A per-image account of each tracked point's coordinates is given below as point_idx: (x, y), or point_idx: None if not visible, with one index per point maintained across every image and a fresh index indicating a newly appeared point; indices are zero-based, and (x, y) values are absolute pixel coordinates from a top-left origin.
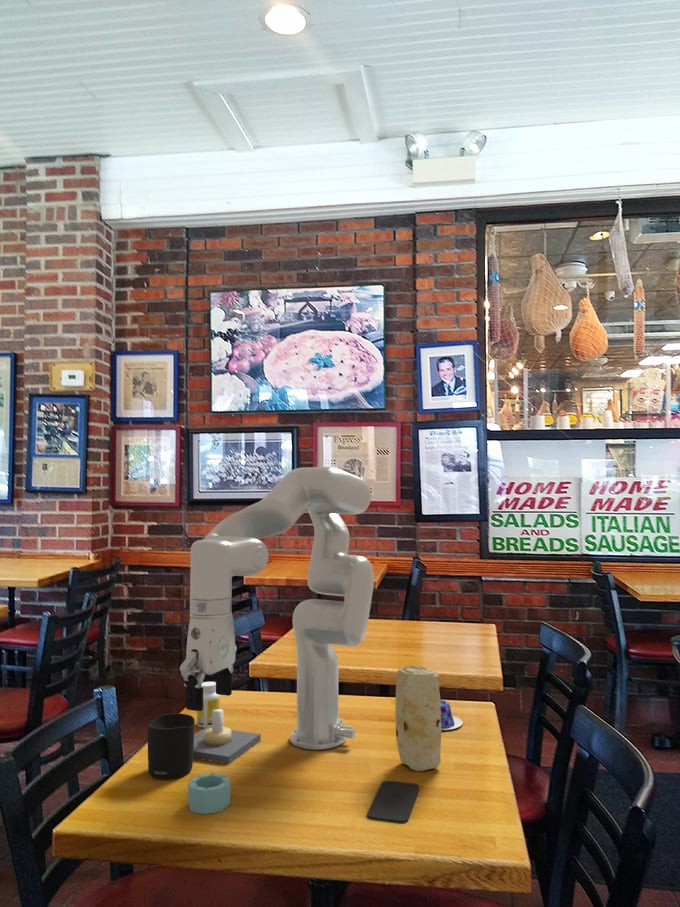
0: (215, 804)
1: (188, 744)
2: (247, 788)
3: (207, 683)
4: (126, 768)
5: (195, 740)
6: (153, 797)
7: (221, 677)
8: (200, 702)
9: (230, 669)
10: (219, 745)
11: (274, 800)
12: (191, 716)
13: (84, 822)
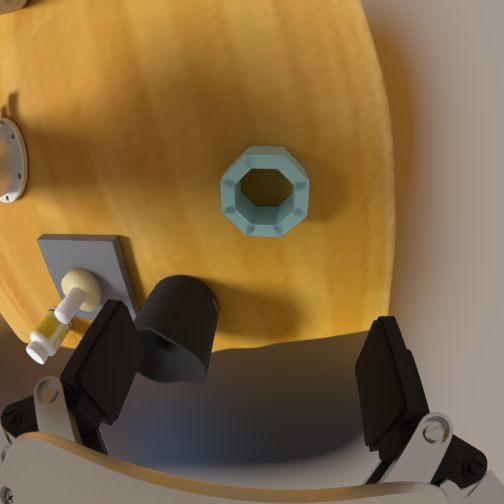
0: (292, 158)
1: (168, 307)
2: (177, 150)
3: (35, 357)
4: None
5: None
6: (276, 280)
7: (107, 395)
8: (401, 348)
9: (55, 400)
10: (93, 275)
11: (201, 74)
12: None
13: (367, 315)
